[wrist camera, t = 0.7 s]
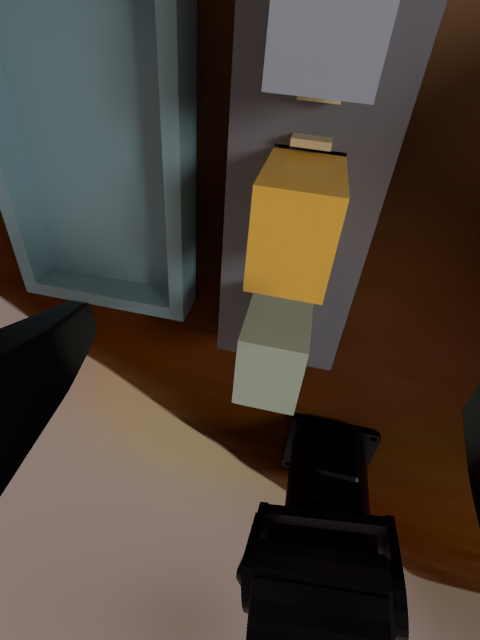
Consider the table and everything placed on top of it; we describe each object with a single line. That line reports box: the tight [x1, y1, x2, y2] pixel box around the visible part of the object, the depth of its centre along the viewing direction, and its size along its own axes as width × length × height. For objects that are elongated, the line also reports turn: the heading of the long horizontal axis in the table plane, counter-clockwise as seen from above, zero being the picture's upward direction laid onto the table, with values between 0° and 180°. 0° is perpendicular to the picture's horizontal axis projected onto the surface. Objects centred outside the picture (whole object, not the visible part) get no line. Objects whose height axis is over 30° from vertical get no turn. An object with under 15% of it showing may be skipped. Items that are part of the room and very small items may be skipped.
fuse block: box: [217, 0, 448, 370], centre depth 17 cm, size 20×7×3 cm, turn 176°
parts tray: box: [0, 0, 197, 322], centre depth 19 cm, size 16×10×2 cm, turn 176°
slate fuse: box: [261, 0, 400, 105], centre depth 12 cm, size 4×3×7 cm
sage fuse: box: [232, 293, 314, 416], centre depth 20 cm, size 4×3×7 cm
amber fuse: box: [243, 147, 350, 305], centre depth 16 cm, size 4×3×7 cm
